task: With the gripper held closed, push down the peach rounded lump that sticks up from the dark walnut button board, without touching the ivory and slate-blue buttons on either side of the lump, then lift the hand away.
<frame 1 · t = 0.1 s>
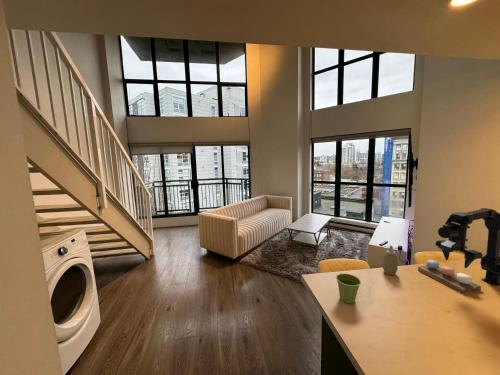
hand: (455, 263, 115), 15 cm above the kitchen island, fingers open, 9 cm apart
button board: (446, 279, 126), on the kitchen island
peach rounded lump: (447, 273, 125), point 4 cm above the kitchen island, slide at 0.0 cm
button ivory: (464, 280, 117), point 4 cm above the kitchen island, slide at 0.0 cm
plant pot: (347, 299, 110), on the kitchen island
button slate: (432, 266, 134), point 4 cm above the kitchen island, slide at 0.0 cm
squeeze bottle: (389, 273, 135), on the kitchen island
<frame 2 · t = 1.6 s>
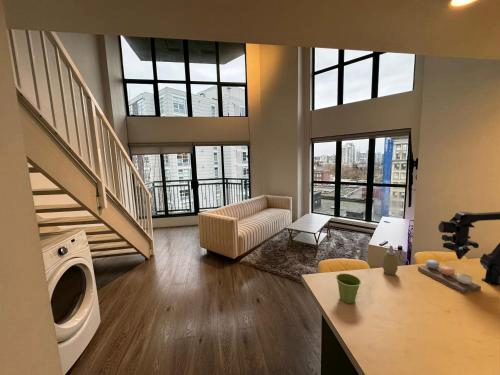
hand: (459, 259, 126), 12 cm above the kitchen island, fingers closed
nothing on the kitchen island moved.
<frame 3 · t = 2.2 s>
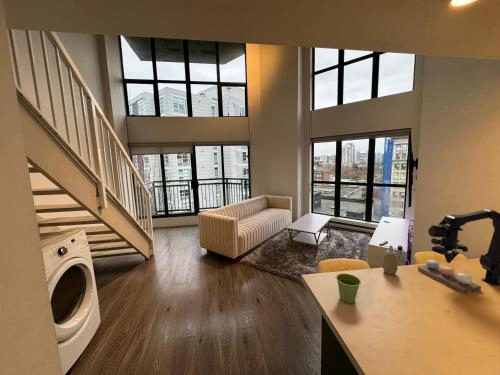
hand: (448, 262, 125), 11 cm above the kitchen island, fingers closed
nothing on the kitchen island moved.
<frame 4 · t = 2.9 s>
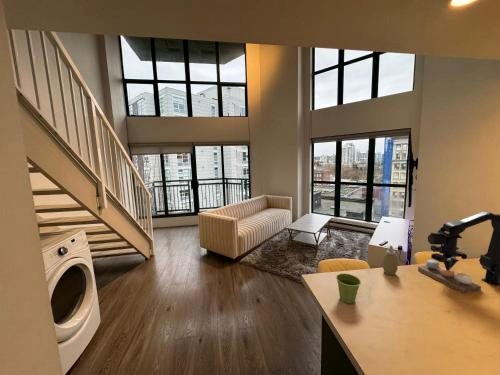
hand: (447, 269, 125), 6 cm above the kitchen island, fingers closed, pressing on peach rounded lump
peach rounded lump: (447, 274, 126), point 3 cm above the kitchen island, slide at 0.9 cm, touching gripper
everything else where it was.
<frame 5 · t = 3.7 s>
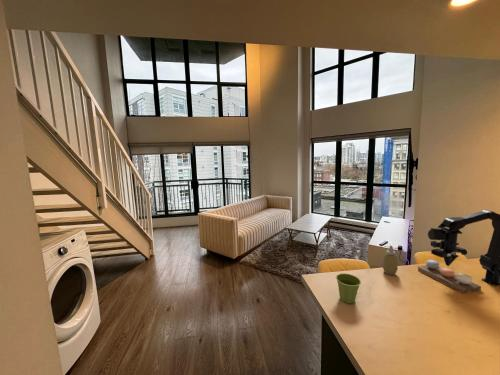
hand: (447, 265, 125), 9 cm above the kitchen island, fingers closed
peach rounded lump: (447, 274, 126), point 3 cm above the kitchen island, slide at 1.0 cm
everything else where it was.
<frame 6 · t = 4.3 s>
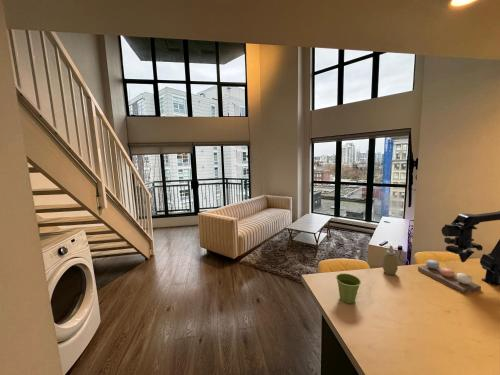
hand: (462, 262, 123), 12 cm above the kitchen island, fingers closed
nothing on the kitchen island moved.
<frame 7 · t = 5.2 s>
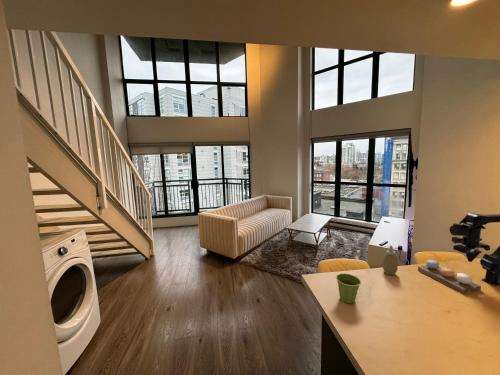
hand: (469, 261, 122), 12 cm above the kitchen island, fingers closed
nothing on the kitchen island moved.
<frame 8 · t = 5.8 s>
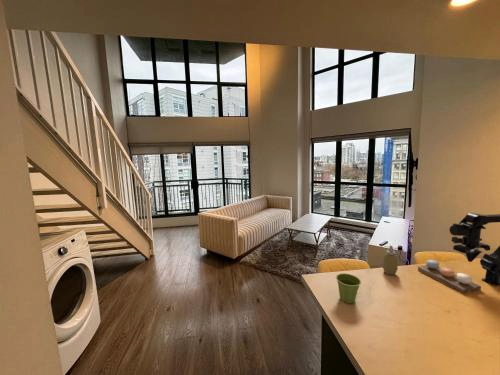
hand: (469, 261, 122), 12 cm above the kitchen island, fingers closed
nothing on the kitchen island moved.
at the end: peach rounded lump slide at 1.0 cm; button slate slide at 0.0 cm; button ivory slide at 0.0 cm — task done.
